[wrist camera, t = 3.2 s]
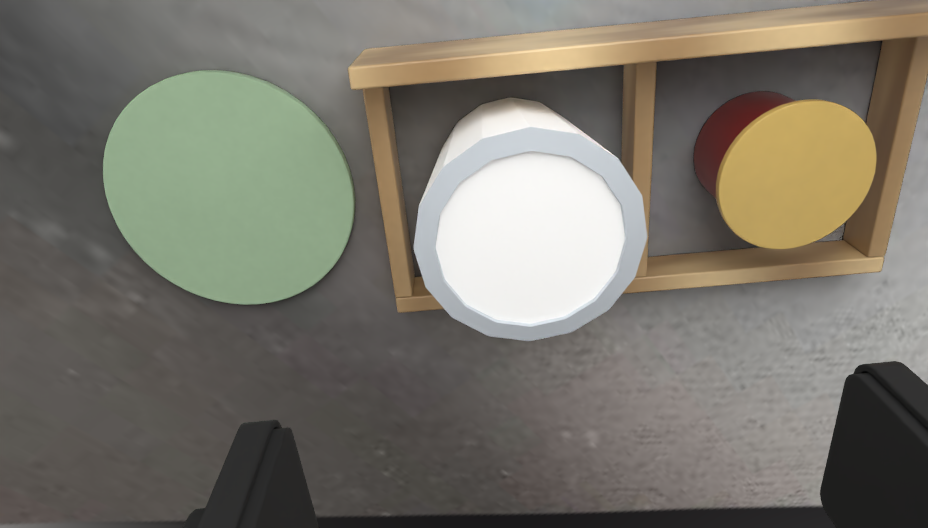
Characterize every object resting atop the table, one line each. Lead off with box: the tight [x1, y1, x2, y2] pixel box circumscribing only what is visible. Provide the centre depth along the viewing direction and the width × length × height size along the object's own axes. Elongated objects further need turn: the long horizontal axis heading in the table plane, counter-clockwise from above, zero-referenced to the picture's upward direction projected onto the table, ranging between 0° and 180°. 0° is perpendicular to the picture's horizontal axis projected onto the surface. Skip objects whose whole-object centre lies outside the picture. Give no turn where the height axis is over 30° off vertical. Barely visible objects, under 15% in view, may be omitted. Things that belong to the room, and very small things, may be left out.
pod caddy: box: [348, 0, 928, 313], centre depth 23 cm, size 19×10×4 cm, turn 95°
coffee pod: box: [694, 91, 876, 249], centre depth 23 cm, size 5×5×4 cm
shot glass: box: [413, 97, 647, 341], centre depth 21 cm, size 7×7×7 cm
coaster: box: [103, 70, 355, 305], centre depth 25 cm, size 10×10×1 cm
